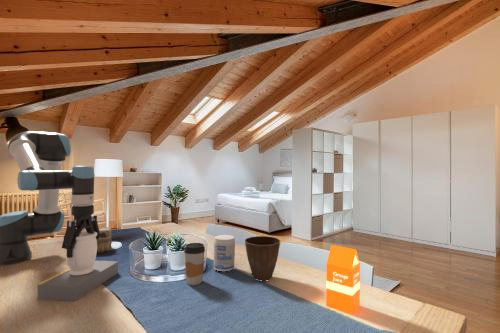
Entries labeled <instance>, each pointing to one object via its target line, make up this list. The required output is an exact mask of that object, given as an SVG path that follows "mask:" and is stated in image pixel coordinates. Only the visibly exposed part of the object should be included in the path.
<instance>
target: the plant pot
mask: <svg viewBox="0 0 500 333" xmlns="http://www.w3.org/2000/svg"><path fill="white" fill-rule="evenodd" d="M244 243H245V244H244V245H245V252H246V257H247V261H248V265H249V268H250V271H251V272H250V273H251V276H252V277H253V279H254V278H255V279H258V280H262V281H261V282H267V281H266V280H269V281H271V280H272V277H273V275H274V271H275V269H276V265H277V261H278V256H279V251H280V245H281V240H280V239H279V238H277V237H273V236H266V235H265V236H264V235H261V236H250V237H247V238H245V239H244ZM255 279H254V280H255Z"/></svg>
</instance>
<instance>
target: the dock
mask: <svg viewBox="0 0 500 333" xmlns="http://www.w3.org/2000/svg"><path fill="white" fill-rule="evenodd" d="M93 267H94V270H93V271H92V272H90V273H88V274H84V275H78V276H74V275H70V274H69V272H70V270H71V269H70V268H68V269H66V270H63V271H62V272H59V273H58V274H55V275H53V276H51V277H49V278H47V279H45V280H43V281H40V282H39V283H37V300H51V301H65V302H76V301H78V300H79V299H80V298H82V297H83V296H85V295H87V294H88V293H89V292H91V291H93V290H94V289H96V288H97V287H99V286H101V285H102V284H103V283H106V282H107V280H109V279H111V278H113V277H114V276H116V275H117V274H119V261H113V260H110V261H109V260H97V259H95V263H94V265H93Z"/></svg>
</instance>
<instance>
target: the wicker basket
mask: <svg viewBox="0 0 500 333" xmlns="http://www.w3.org/2000/svg"><path fill="white" fill-rule="evenodd" d="M99 231H100V237H99V239H98V240H97V254H101V255H103V254H106V253H107V254H108V253H110V250H111V249H110V248H112V244H113V243H112V238H113V235H112V227H111V226H108V227H99Z"/></svg>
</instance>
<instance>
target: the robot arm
mask: <svg viewBox="0 0 500 333" xmlns="http://www.w3.org/2000/svg"><path fill="white" fill-rule="evenodd" d="M7 149H8V151H9V153H10V155H11V156H12V157H14V158H15V160H16V161H15V162H16V164H17V165H18V168H19V170H20V171H18V173H17V178H16V179H17V182H16V183H17V187H18V189H19V190H20V191H31V192H34V191H38V198H37V199H38V200H37V206H36V207H34V208H33V212H29V211H28V210H18V211H11V212H8V213H3V214H1V215H0V266H3V265H11V264H18V263H21V262H25V261H28V260H29V259H31V258H33V251H31V247H30V245H29V242H28V241H29V240H28V238H29V237H34V236H40V235H51V234H53V233H58V232H60V231H61V230H62V228H63V227H64V222H65V212H64V211H63V210H62V208H61V207H60V206H59V196H60V195H59V194H60V190H68V189H69V190H70V189H71V205H72V206H71V215H72V216H73V220H67V222H66V230H65V233H64V237H63V240H62V243H61V249H65V250H66V249H67V255H66V259H67V260H66V261H67V263H66V264H67V267H69V266H75V260H76V248H74V246H75V243H76V241H77V240H76V237H78V236H79V234H80V232H83V230H85V231H87V233H88V234H93V232H97V236H96V240H98V239H99V237H100V231H99V228H100V227H99V223H98V215H97V214H95V215H94V213H95V211H94V210H95V206H94V204H95V203H94V201H95V198H94V196H95V195H94V194H95V176H96V175H95V169H94V168H95V167H93V166H92V165H73V166H72V167H71V169H69V170H62V163H64V162H65V161H66V158H68V157H70V156H71V152H72V151H71V142H70V139H69V137H68V136H67V134H65V133H59V132H50V131H49V132H48V131H34V130H27V131H23V132H20V133H17V134H15V135H14V136H13V137H12V138H11V139H10V140H9V142H8V144H7Z"/></svg>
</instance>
